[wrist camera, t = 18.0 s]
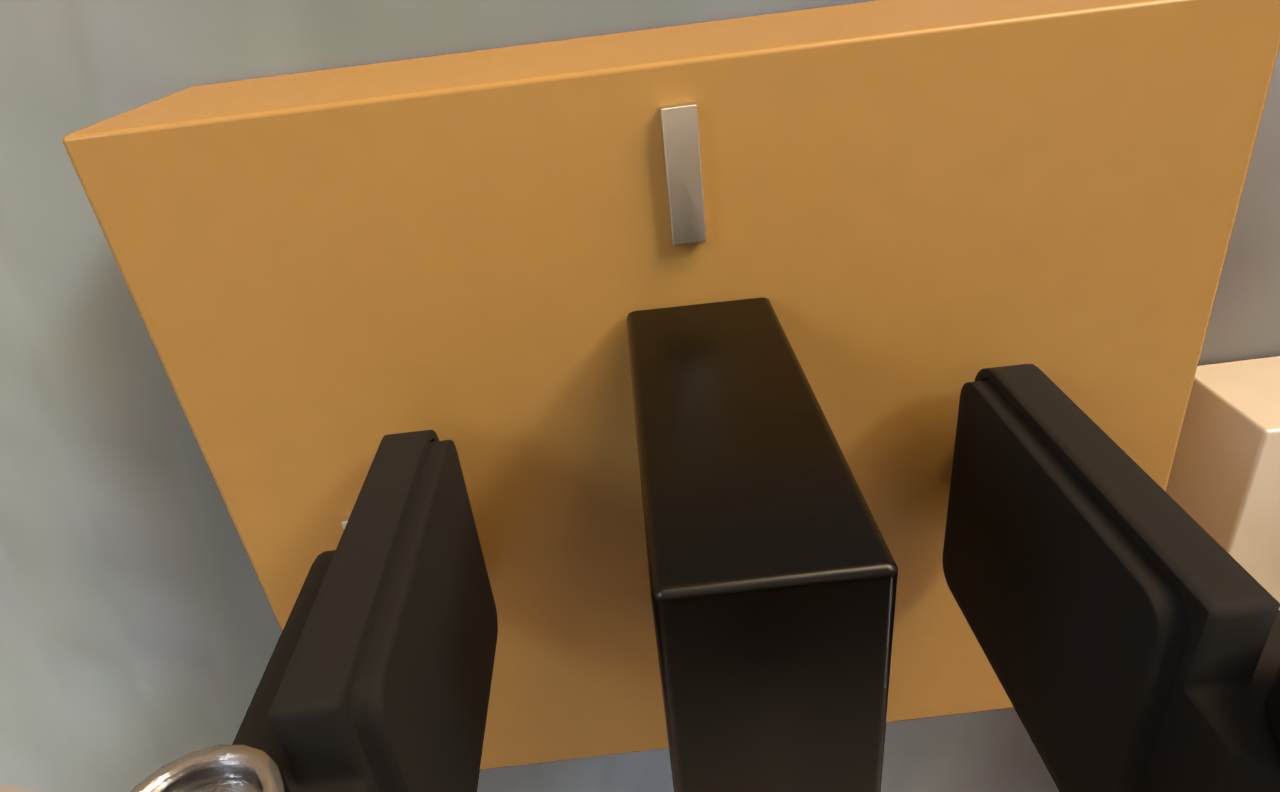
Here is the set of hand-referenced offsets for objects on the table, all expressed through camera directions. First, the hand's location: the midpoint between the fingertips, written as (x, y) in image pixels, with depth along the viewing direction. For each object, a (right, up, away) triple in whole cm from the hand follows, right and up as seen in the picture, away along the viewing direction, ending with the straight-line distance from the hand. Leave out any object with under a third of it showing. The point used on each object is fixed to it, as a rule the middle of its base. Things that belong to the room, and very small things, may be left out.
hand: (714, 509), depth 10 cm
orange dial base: (0, +2, +3) cm, 4 cm away
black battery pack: (0, 0, 0) cm, 0 cm away
